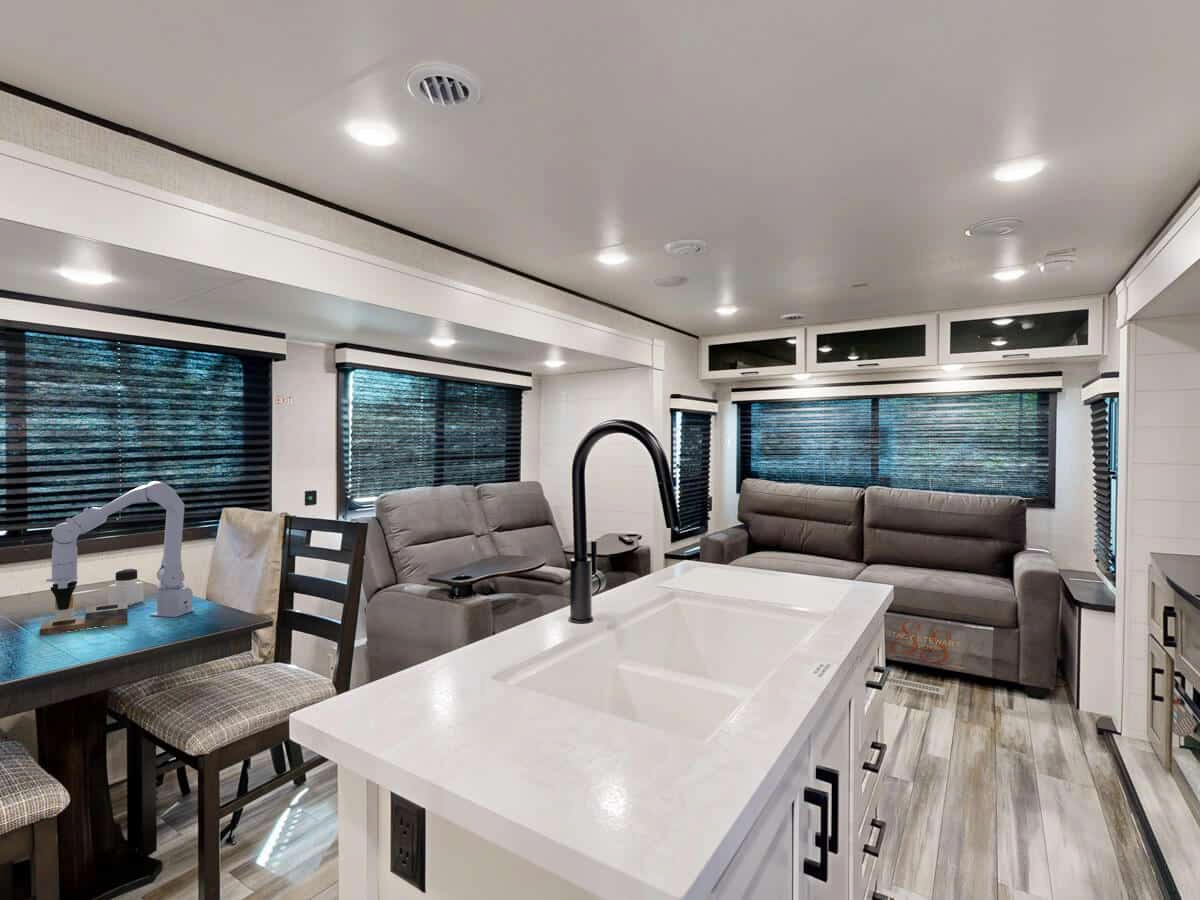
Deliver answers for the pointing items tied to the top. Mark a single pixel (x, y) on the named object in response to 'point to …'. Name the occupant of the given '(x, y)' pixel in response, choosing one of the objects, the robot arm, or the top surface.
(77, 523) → the robot arm
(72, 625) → the wooden base
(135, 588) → the medicine bottle
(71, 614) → the plug
